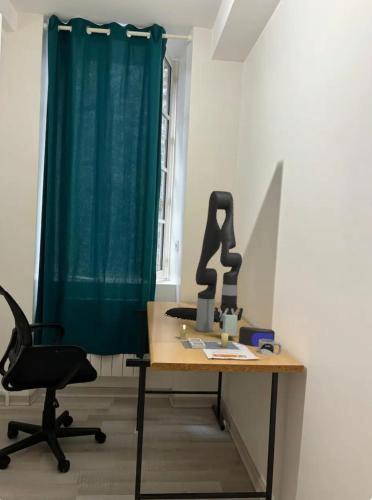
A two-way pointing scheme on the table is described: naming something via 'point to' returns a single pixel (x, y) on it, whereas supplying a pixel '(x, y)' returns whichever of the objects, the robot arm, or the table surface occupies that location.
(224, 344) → the board
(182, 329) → the pin
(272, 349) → the mug
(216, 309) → the robot arm
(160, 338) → the table surface
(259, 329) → the leaning round-cornered charcoal block
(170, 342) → the table surface
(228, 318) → the block
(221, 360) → the table surface
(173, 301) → the table surface
